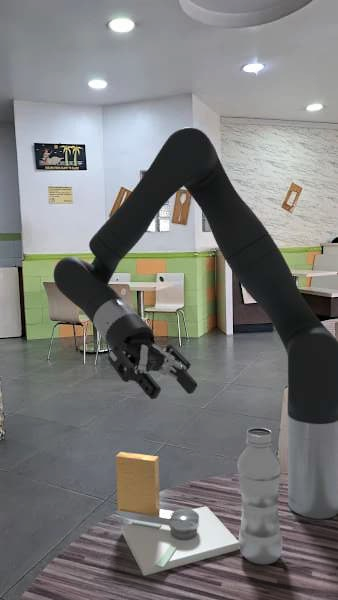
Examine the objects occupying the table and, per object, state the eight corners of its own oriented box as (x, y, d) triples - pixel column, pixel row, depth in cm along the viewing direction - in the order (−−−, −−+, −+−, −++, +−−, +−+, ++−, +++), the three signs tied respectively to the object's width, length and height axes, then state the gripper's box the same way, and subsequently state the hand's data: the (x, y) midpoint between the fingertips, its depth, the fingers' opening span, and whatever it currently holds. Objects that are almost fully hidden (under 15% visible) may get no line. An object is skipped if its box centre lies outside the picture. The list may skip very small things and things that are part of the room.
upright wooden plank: (202, 518, 80) (201, 457, 79) (194, 534, 75) (192, 470, 74) (126, 505, 85) (124, 448, 84) (113, 520, 80) (111, 460, 79)
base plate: (205, 510, 87) (204, 498, 87) (243, 553, 75) (242, 539, 74) (120, 530, 82) (120, 517, 81) (146, 580, 69) (145, 565, 69)
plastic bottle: (283, 573, 70) (283, 441, 68) (237, 568, 71) (235, 438, 69) (282, 546, 76) (281, 425, 74) (239, 542, 77) (238, 423, 76)
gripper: (99, 311, 78) (154, 377, 68) (160, 313, 88) (215, 371, 79) (82, 346, 81) (132, 415, 71) (143, 345, 91) (194, 404, 81)
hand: (176, 392), depth 75 cm, fingers open, 8 cm apart
